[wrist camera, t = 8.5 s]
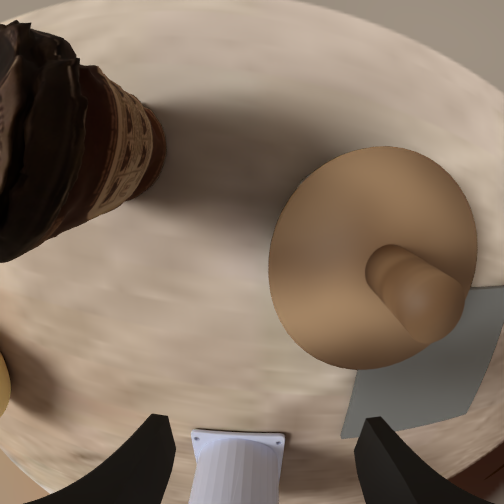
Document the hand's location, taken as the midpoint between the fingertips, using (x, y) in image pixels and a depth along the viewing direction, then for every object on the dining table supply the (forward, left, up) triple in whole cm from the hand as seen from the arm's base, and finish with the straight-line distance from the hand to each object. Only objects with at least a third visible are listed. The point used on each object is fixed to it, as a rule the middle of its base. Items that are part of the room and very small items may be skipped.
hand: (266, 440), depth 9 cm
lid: (+5, -6, -7) cm, 10 cm away
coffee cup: (+11, +9, -11) cm, 18 cm away
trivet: (-5, -14, -10) cm, 18 cm away
